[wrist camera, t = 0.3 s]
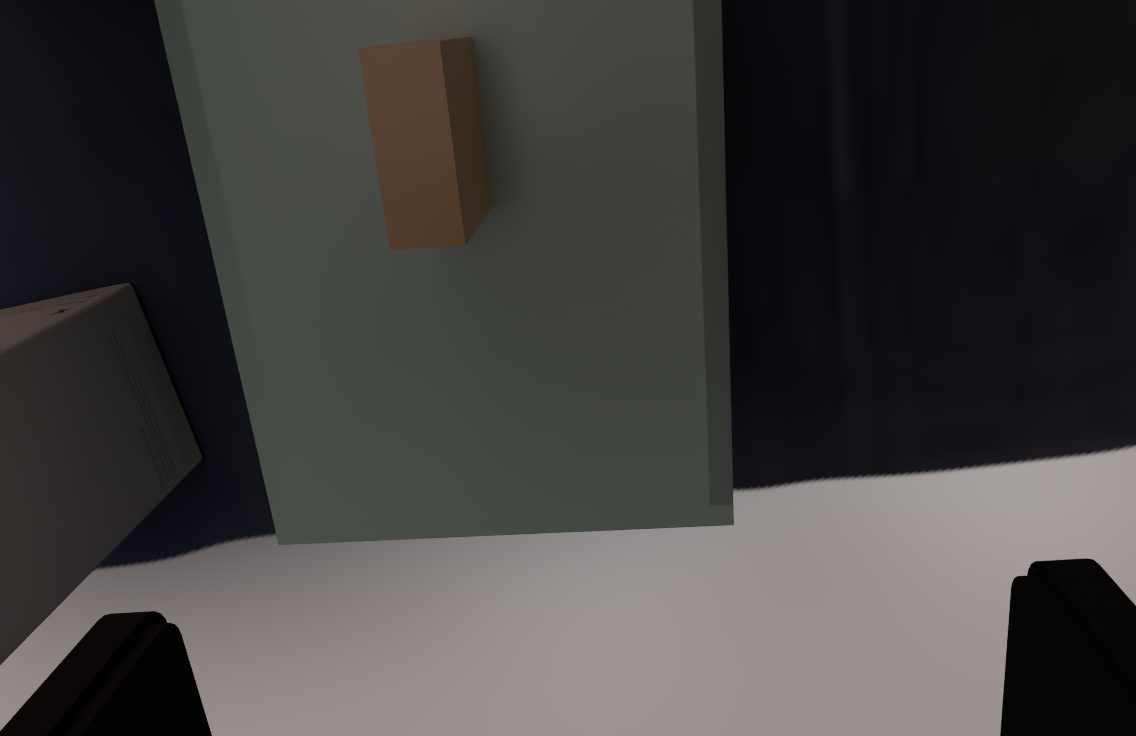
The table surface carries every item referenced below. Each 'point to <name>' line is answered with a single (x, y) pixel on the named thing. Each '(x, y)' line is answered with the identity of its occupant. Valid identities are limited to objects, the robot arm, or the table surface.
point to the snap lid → (469, 257)
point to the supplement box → (78, 444)
